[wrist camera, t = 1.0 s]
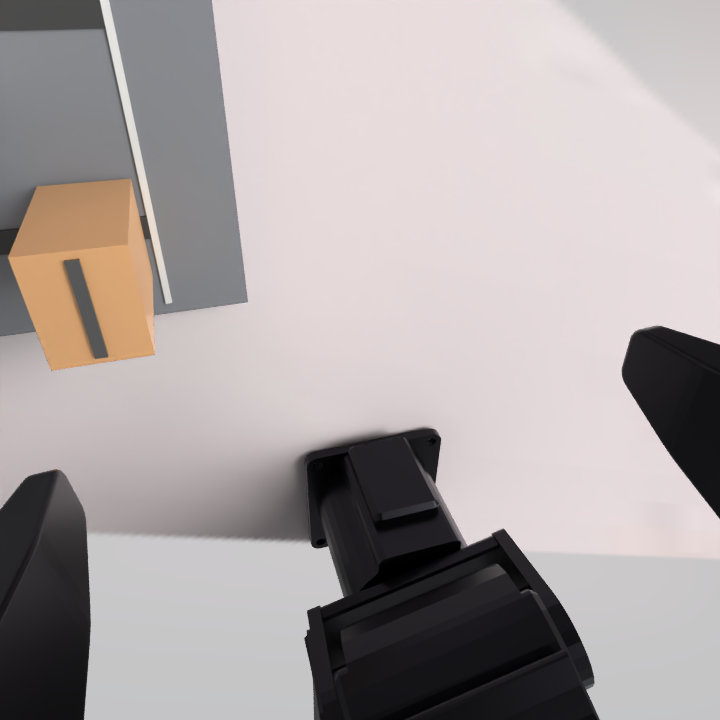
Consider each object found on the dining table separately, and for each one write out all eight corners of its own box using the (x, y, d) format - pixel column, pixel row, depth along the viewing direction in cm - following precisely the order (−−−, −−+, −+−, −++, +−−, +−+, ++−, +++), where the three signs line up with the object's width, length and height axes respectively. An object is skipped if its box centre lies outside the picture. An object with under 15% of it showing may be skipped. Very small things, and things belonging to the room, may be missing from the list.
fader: (152, 274, 18) (154, 357, 15) (69, 284, 17) (50, 372, 14) (130, 178, 16) (127, 246, 13) (36, 186, 16) (7, 259, 12)
